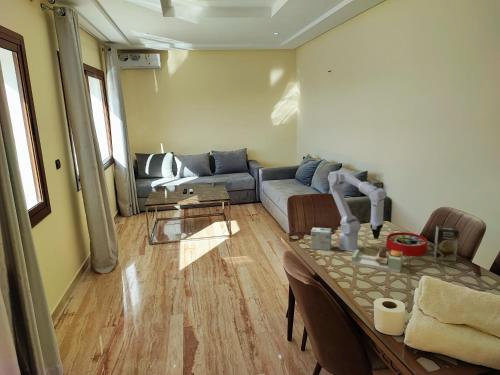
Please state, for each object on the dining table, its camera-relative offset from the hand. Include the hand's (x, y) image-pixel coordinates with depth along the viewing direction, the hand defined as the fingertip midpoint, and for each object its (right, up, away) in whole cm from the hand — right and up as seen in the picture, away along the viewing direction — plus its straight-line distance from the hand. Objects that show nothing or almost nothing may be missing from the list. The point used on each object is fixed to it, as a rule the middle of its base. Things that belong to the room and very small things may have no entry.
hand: (376, 238), depth 174 cm
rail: (-2, -12, -5) cm, 13 cm away
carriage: (0, -10, -7) cm, 12 cm away
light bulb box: (-24, -8, +17) cm, 31 cm away
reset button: (+6, -11, -10) cm, 16 cm away
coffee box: (+34, -10, -2) cm, 35 cm away
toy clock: (+20, -8, +11) cm, 25 cm away
